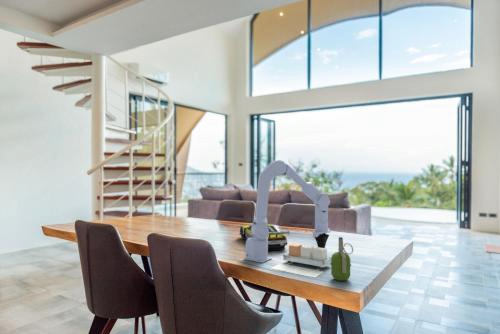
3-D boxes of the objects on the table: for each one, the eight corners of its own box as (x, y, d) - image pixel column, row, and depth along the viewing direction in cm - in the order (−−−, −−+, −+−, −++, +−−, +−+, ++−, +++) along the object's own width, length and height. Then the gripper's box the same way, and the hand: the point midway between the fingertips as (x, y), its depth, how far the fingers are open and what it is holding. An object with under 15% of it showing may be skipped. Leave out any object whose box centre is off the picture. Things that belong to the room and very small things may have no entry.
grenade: (347, 276, 118) (347, 235, 119) (355, 284, 110) (355, 240, 110) (327, 276, 118) (327, 235, 118) (334, 284, 110) (334, 240, 110)
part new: (288, 257, 135) (288, 245, 135) (293, 255, 139) (293, 243, 139) (297, 258, 133) (297, 246, 133) (301, 256, 136) (301, 244, 136)
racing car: (265, 234, 193) (265, 214, 193) (291, 253, 156) (291, 228, 156) (238, 235, 189) (238, 215, 188) (257, 255, 151) (257, 230, 151)
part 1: (300, 259, 132) (300, 247, 132) (305, 257, 135) (305, 245, 135) (309, 260, 130) (309, 248, 130) (314, 258, 133) (314, 246, 133)
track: (269, 268, 127) (269, 268, 127) (291, 258, 142) (291, 258, 142) (314, 278, 116) (314, 277, 116) (333, 266, 131) (333, 266, 131)
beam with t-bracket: (283, 262, 135) (283, 254, 135) (298, 255, 146) (298, 248, 146) (324, 270, 125) (324, 262, 125) (336, 262, 136) (336, 254, 136)
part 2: (313, 261, 129) (313, 249, 129) (317, 259, 132) (317, 247, 132) (322, 263, 127) (322, 250, 127) (326, 261, 130) (326, 248, 130)
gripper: (323, 223, 137) (323, 255, 137) (335, 219, 149) (335, 248, 149) (308, 221, 141) (308, 252, 141) (321, 217, 153) (321, 246, 153)
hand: (321, 250), depth 145 cm, fingers closed
